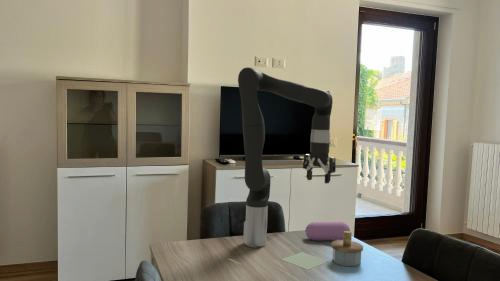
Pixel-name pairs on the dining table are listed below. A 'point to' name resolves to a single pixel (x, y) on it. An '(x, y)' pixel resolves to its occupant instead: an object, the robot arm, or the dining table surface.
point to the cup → (346, 258)
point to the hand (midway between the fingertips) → (318, 181)
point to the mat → (304, 260)
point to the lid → (347, 244)
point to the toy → (326, 230)
